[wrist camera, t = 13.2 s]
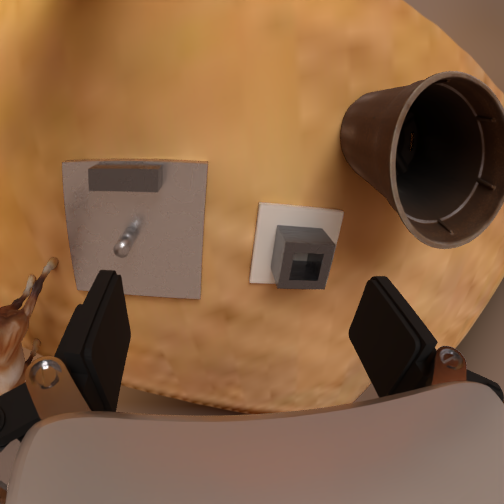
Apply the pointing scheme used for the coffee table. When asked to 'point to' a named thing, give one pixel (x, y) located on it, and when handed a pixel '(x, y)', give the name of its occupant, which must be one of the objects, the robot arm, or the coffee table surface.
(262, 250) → the pad
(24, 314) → the horse figurine
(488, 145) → the plant pot
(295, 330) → the coffee table surface
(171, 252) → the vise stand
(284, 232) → the collar
